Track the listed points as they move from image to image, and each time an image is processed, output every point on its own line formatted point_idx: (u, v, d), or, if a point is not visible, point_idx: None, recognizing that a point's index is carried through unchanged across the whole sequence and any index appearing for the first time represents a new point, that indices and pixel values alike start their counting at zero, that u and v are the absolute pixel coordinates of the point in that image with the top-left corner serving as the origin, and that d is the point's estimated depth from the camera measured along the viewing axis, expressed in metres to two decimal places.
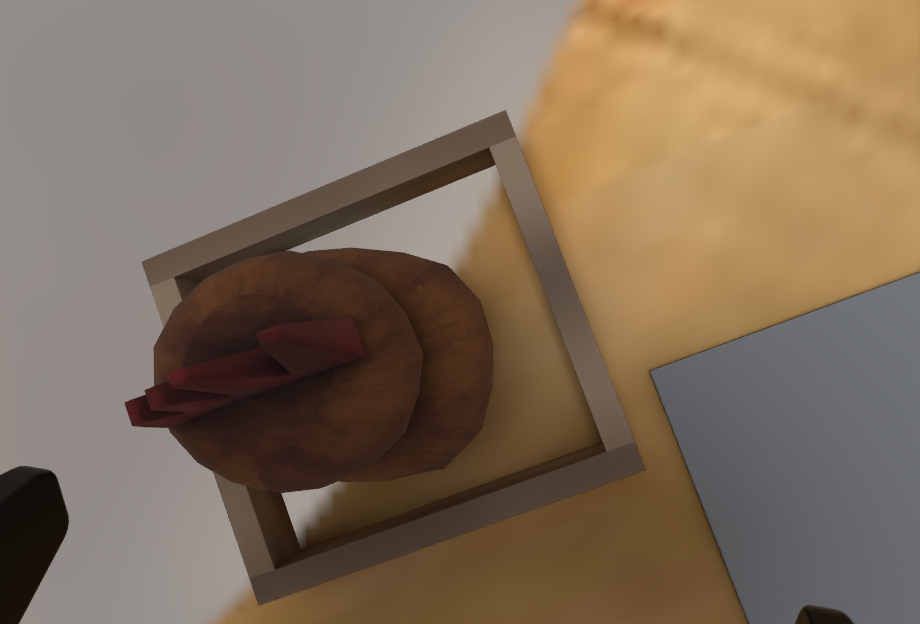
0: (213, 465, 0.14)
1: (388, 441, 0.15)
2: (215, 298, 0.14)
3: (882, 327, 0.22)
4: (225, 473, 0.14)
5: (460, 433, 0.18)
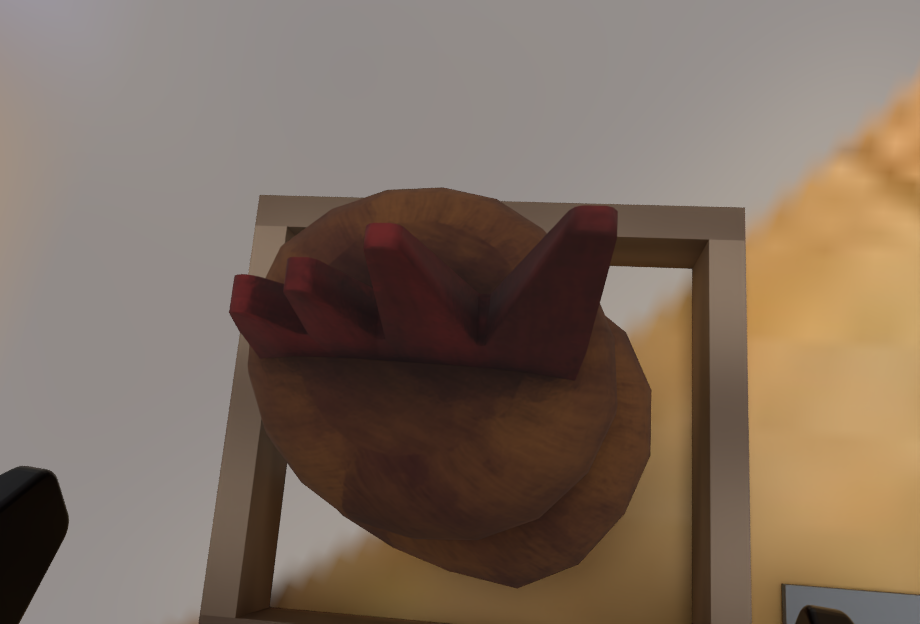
0: (287, 434, 0.09)
1: (534, 515, 0.10)
2: (402, 213, 0.10)
3: None
4: (298, 453, 0.09)
5: (574, 553, 0.13)
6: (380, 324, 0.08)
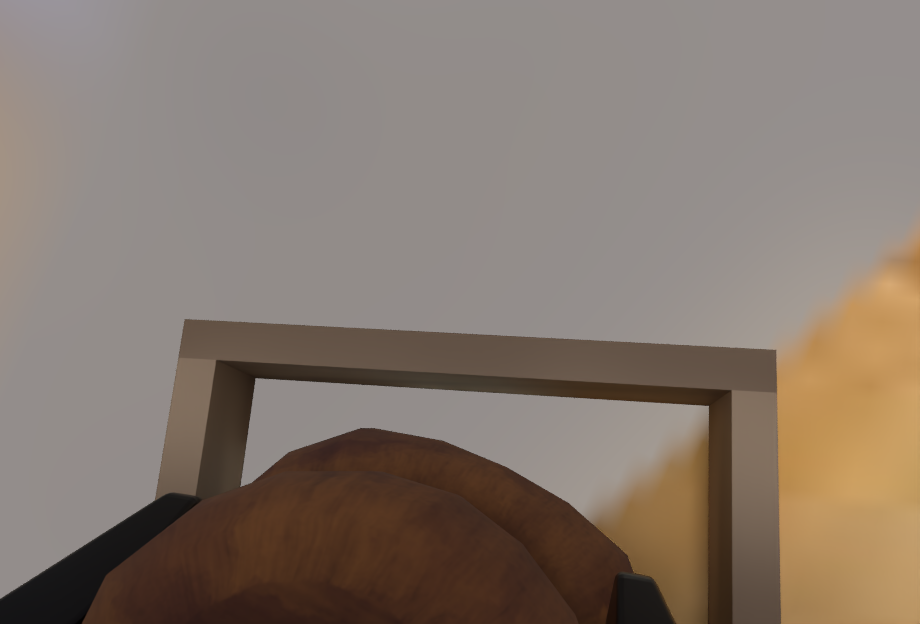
0: None
1: None
2: (276, 560, 0.06)
3: None
4: None
5: None
6: None
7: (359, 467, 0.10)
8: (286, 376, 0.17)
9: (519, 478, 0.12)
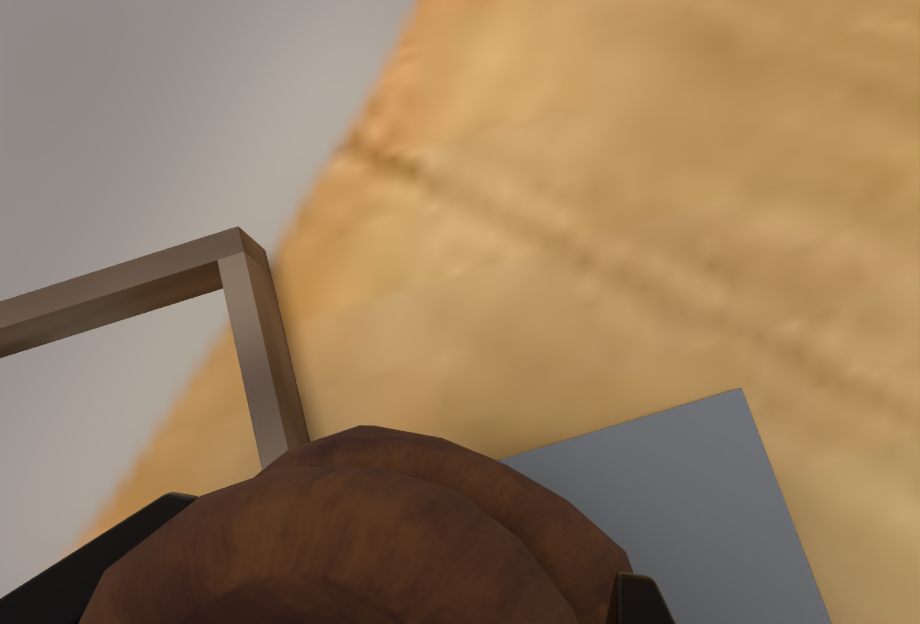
0: None
1: None
2: (274, 555, 0.06)
3: (594, 473, 0.22)
4: None
5: None
6: None
7: (358, 464, 0.10)
8: None
9: (518, 475, 0.12)
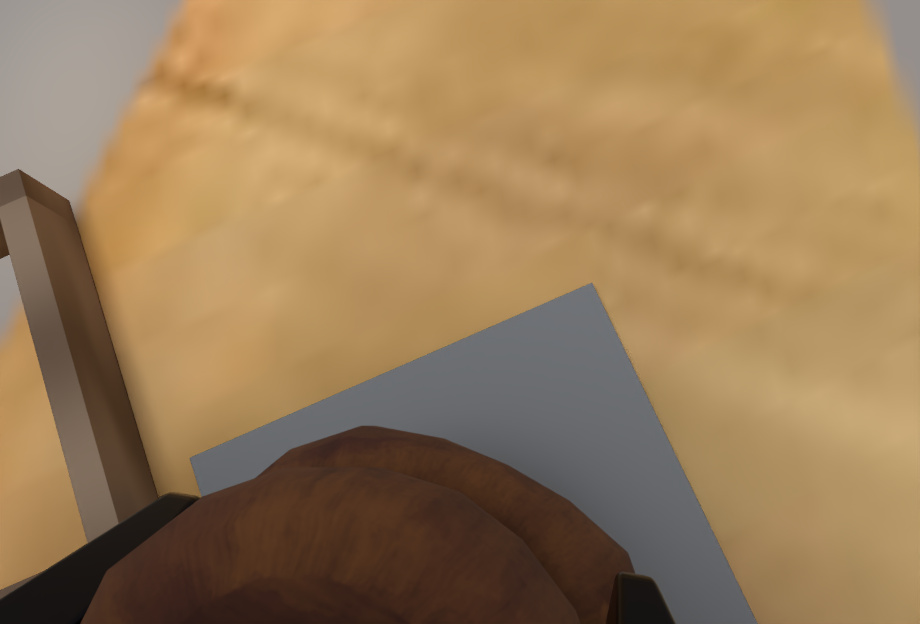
0: None
1: None
2: (276, 555, 0.06)
3: (440, 395, 0.20)
4: None
5: None
6: None
7: (360, 464, 0.10)
8: None
9: (520, 475, 0.12)
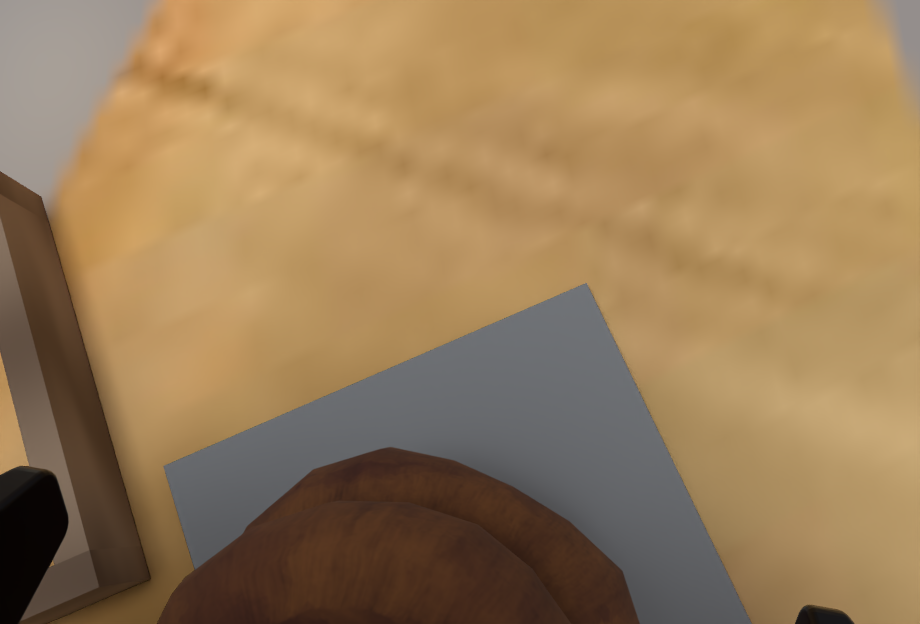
0: None
1: None
2: (326, 589, 0.07)
3: (426, 400, 0.19)
4: None
5: None
6: None
7: (381, 489, 0.11)
8: None
9: (525, 499, 0.12)
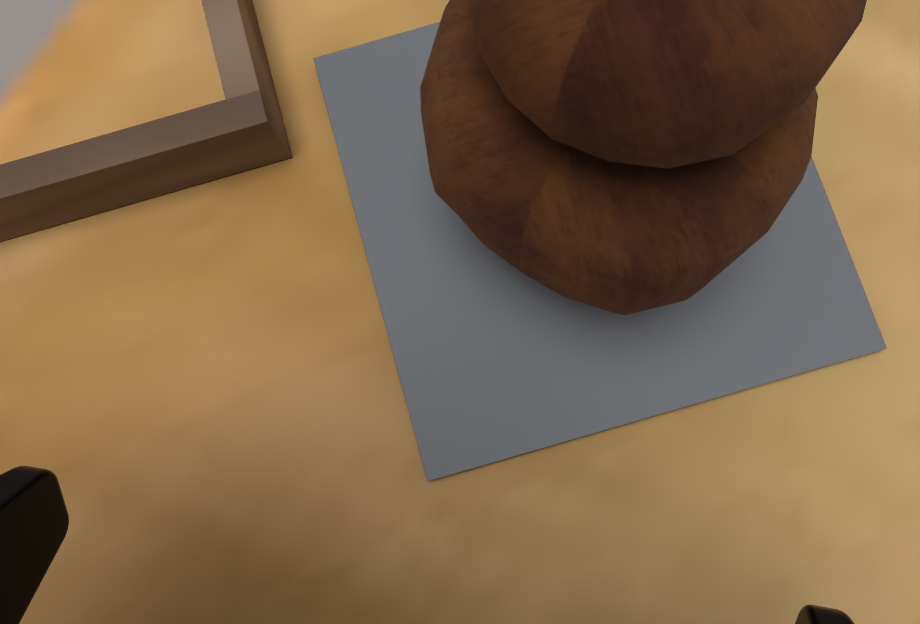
0: None
1: (760, 113, 0.09)
2: None
3: None
4: None
5: (719, 253, 0.13)
6: None
7: None
8: None
9: None
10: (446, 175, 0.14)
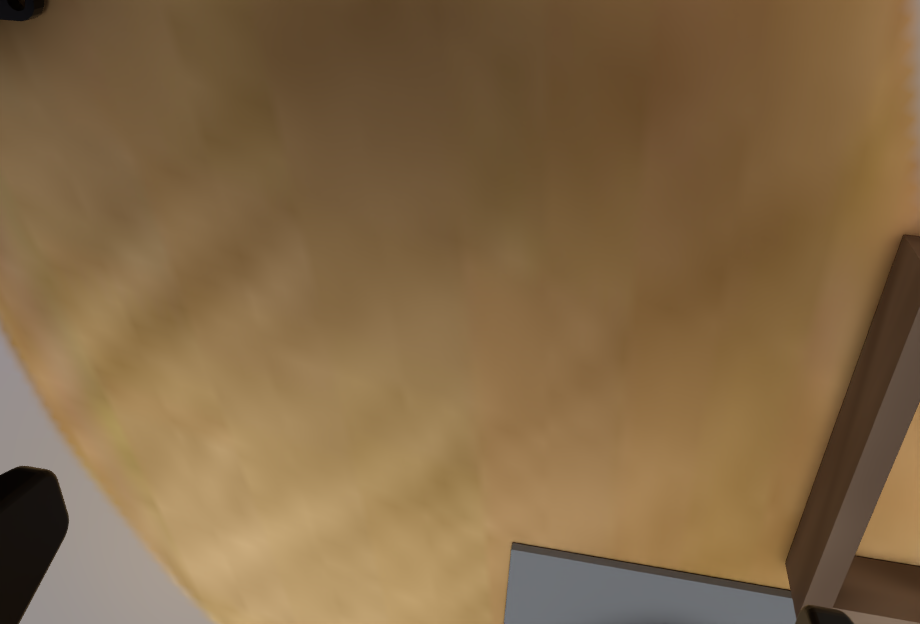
0: None
1: None
2: None
3: None
4: None
5: None
6: None
7: None
8: None
9: None
10: None
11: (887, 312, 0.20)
